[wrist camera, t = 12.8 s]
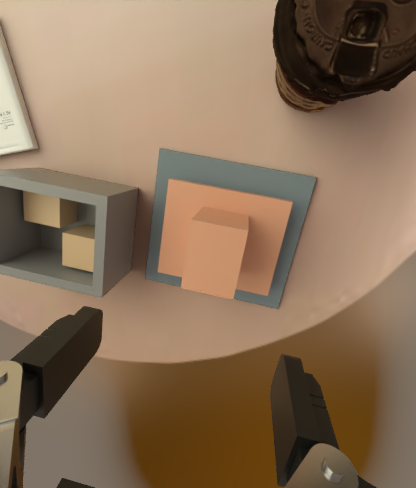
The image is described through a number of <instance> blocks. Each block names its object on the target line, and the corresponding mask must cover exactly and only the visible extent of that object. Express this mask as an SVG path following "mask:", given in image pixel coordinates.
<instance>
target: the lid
mask: <svg viewBox="0 0 416 488" xmlns="http://www.w3.org/2000/svg"><path fill="white" fill-rule="evenodd" d="M292 204H293V202H292V201H291V200H286V199H281V198H275V197H270V196H265V195H259V194H254V193H249V192H243V191H238V190H233V189H227V188H222V187H217V186H211V185H206V184H201V183H195V182H190V181H185V180H179V179H174V178H170V179H169V180H168V189H167V197H166V206H165V214H164V223H163V231H162V240H161V248H160V256H159V265H158V272H160V273H164V274H169V275H173V276H178V277H182V282H181V288H183V289H187V290H192V291H196V292H201V293H205V294H210V295H214V296H219V297H223V298H228V299H232V300H233V298H234V294H235V289H238V290H242V291H247V292H252V293H256V294H261V295H265V296H268V293H269V289H270V285H271V282H272V278H273V274H274V271H275V267H276V263H277V259H278V256H279V252H280V248H281V245H282V241H283V237H284V233H285V230H286V226H287V222H288V219H289V215H290V211H291V207H292Z"/></svg>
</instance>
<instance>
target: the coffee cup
mask: <svg viewBox="0 0 416 488" xmlns="http://www.w3.org/2000/svg"><path fill="white" fill-rule="evenodd" d="M273 48H274V51H275V56H276V58H277V59H276V84H277V88H278V91H279V94H280V96H281V98H282V99H283V100H284V101H285V102H286V103H287V104H288V105H290V106H291V107H293V108H295V109H297V110H301V111H304V112H312V111H322V110H324V109H326V108H327V107H328V106H333V105H335V104H336V103H337V102H338V101H344V100H348V99H351V98H356V97H360V96H363V95H368V94H372V93H375V92H377V91H380V90H384V91H390V90H391V89H392V88H394V87H396V86H397V84H398V83H399V82H400V81H402V80H403V79H405V78H406V77H407V76H408V75H409V74H411V73H412V72H413V71H416V0H278V3H277V5H276V9H275V18H274V27H273Z"/></svg>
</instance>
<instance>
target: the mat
mask: <svg viewBox="0 0 416 488" xmlns="http://www.w3.org/2000/svg"><path fill="white" fill-rule="evenodd" d="M170 178H174V179H179V180H185V181H190V182H195V183H201V184H206V185H211V186H217V187H222V188H227V189H233V190H238V191H243V192H249V193H254V194H259V195H265V196H270V197H275V198H281V199H286V200H291V201H292V202H293V204H292V207H291V211H290V215H289V219H288V222H287V226H286V230H285V233H284V237H283V241H282V245H281V248H280V252H279V256H278V259H277V263H276V267H275V271H274V274H273V278H272V282H271V285H270V289H269V293H268V296H265V295H261V294H256V293H252V292H247V291H242V290H238V289H235V294H234V298H233V299H237V300H241V301H245V302H250V303H254V304H259V305H263V306H267V307H272V308H276V309H278V306H279V303H280V300H281V296H282V293H283V289H284V286H285V283H286V279H287V276H288V273H289V269H290V266H291V262H292V259H293V256H294V252H295V249H296V246H297V242H298V239H299V236H300V232H301V229H302V225H303V222H304V219H305V215H306V212H307V209H308V205H309V202H310V198H311V195H312V192H313V188H314V185H315V182H316V178H315V177H310V176H305V175H299V174H294V173H289V172H283V171H278V170H273V169H267V168H262V167H257V166H251V165H246V164H241V163H235V162H230V161H225V160H219V159H214V158H209V157H203V156H198V155H193V154H187V153H182V152H177V151H171V150H166V149H160V151H159V160H158V169H157V177H156V186H155V195H154V204H153V213H152V222H151V231H150V240H149V249H148V258H147V267H146V276H145V279H149V280H153V281H158V282H162V283H166V284H171V285H175V286H180V287H181V282H182V277H178V276H173V275H169V274H164V273H160V272H158V265H159V256H160V248H161V240H162V231H163V223H164V214H165V206H166V197H167V189H168V180H169V179H170Z"/></svg>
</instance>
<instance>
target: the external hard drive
mask: <svg viewBox="0 0 416 488" xmlns="http://www.w3.org/2000/svg"><path fill="white" fill-rule="evenodd" d="M34 149H38V145H37V141H36V138H35V135H34V132H33V128H32V125H31V122H30V119H29V115H28V112H27V109H26V106H25V102H24V99H23V96H22V93H21V89H20V86H19V83H18V80H17V77H16V73H15V70H14V67H13V64H12V60H11V57H10V54H9V51H8V48H7V44H6V41H5V38H4V35H3V32H2V28H1V25H0V156H2V155H5V154H11V153H18V152H23V151H28V150H34Z"/></svg>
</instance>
